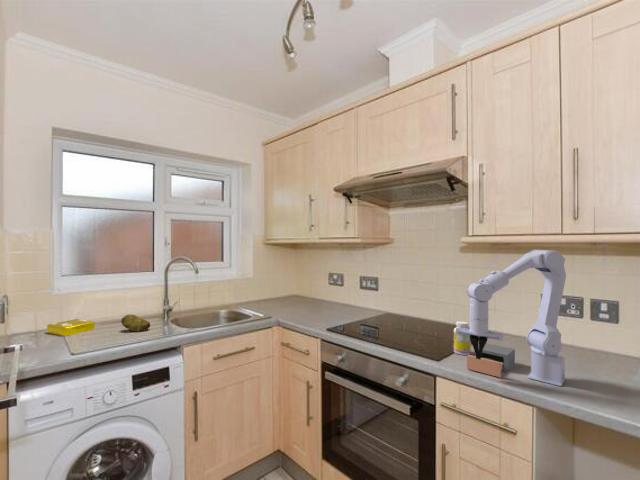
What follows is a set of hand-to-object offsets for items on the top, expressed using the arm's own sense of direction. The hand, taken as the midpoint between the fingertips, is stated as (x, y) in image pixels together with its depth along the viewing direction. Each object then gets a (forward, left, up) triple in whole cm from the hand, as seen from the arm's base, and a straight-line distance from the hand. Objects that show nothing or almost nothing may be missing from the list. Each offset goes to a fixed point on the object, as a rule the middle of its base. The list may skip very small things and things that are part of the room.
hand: (478, 358), depth 113 cm
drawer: (0, -10, -6) cm, 11 cm away
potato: (+145, +63, -7) cm, 158 cm away
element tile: (+166, +86, -7) cm, 187 cm away
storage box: (0, -18, -7) cm, 19 cm away
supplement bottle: (+14, -23, -7) cm, 27 cm away
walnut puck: (0, -10, -6) cm, 11 cm away
